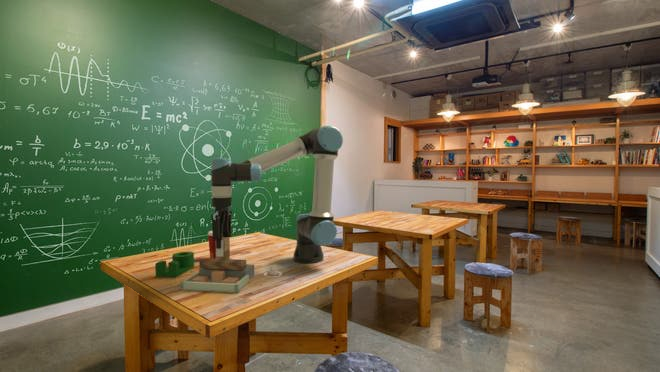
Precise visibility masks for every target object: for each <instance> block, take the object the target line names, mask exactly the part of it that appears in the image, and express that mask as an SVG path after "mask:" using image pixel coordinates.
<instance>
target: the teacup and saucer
mask: <svg viewBox="0 0 660 372" xmlns="http://www.w3.org/2000/svg"><path fill="white" fill-rule="evenodd" d="M268 267H269V268H268V269H267V272H265V273H263V276H264V277H265V278H271V276H273V278H278V277H281V276H282V275H283V272H282V271H278V265H276V264H272V265H269V266H268ZM277 273H278V275H277ZM268 274H270V276H268Z"/></svg>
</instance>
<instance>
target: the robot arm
mask: <svg viewBox="0 0 660 372" xmlns="http://www.w3.org/2000/svg"><path fill="white" fill-rule="evenodd" d="M343 138H344V137H343V135H342V133H341V130H340V129H338V127H336V126H334V125H323V126H321V127H317V128H314V129H313V128H312V129H311V130H310V131H307V132H306V133H305V134H303V135H300V136H298V137H296V138H295V140H294V141H291V142H288V143H287V144H286V143H285V144H284V145H281V146H279V147H277V148H274V149H271V150H269V151H266V152H264V153H262V154H259V155H257V156H254V157H251V158H248V159H247V160H244V161H242V162H240V163H237V162H232V159H231V158H228V157H214V158H212V159H211V168H210V171H211V173H210V175H211V177H210V179H211V180H210V181H211V188H210V190H211V196H212V198H211V207H212V208H215V209H214V214H211V215H210V218H211V225H212V226H211V228H212V230H211V231H212V235H213V240H216V256H219V257H223V256H224V250H223V240H222V234H223V237H229V238H231V237H232V216H233V211H232V210H230V209H229V207H232V202H233V200H232V197H231V196H232V194H233V193H232V191H233V190H232V187H233V186H232V183H233V182H235V183H236V182H239V183H241V182H251V183H253V182H259V181H261V179H262V177H263V176H262V175H263V172H265V171H268V170H271V169H272V168H275V167H277V166H279V165H282V164H284V163H287V162H289V161H291V160H294V159H297V158H299V157H301V156H302V157H306V156H308V155H312V157H313V158H314V159H315V161H314V173H313V174H314V176H313V178H314V179H313V193H312V206H311V207H312V208H311V211H310V212H308V213H302V214H301V213H299V214H298V215H296V245H295V249H294V251H293V258H292V259H293V261H294V262H296V263H300V264H315V263H319V262H322V261H324V257H325V256H324V252H323V247H322V246H324V247H325V246H328V245H330V244H331V243H332V242H334V241H335V239H336V238H337V234H338V228H337V226H336V224H335V223H334V220H335V219H334V217H335V215H334V214H333V213H332V211H331V210H332V196H333V195H332V194H333V181H334V180H333V179H334V165H335V160H336V159H337V158H338V157H339V156H338V155H339V150H340V149H341V148H342V146H343V143H344V139H343Z"/></svg>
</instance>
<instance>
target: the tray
mask: <svg viewBox="0 0 660 372" xmlns="http://www.w3.org/2000/svg"><path fill="white" fill-rule="evenodd" d="M197 276H199V272H195V273H193V274H191V275H190V276H189V277H187V278H185V279H184V280H183V279H182V280H181V281H180V282H179V285H180V287H179V289H180V291H188V292H189V291H191V292H192V291H193V292H194V291H195V292H210V293H211V292H214V293H226V294H227V293H230V294H239V293H240V292H241V291H242V290H243V289H244V288H245V287H247V285H249V283H250V280H249V275H246V276H244V277H243V278H242V279H241V280H240V281H238V282H237V283H236V284H233V283H212V280H211V279H208V282H192V281H191V280H192V279H193V278H195V277H197Z"/></svg>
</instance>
